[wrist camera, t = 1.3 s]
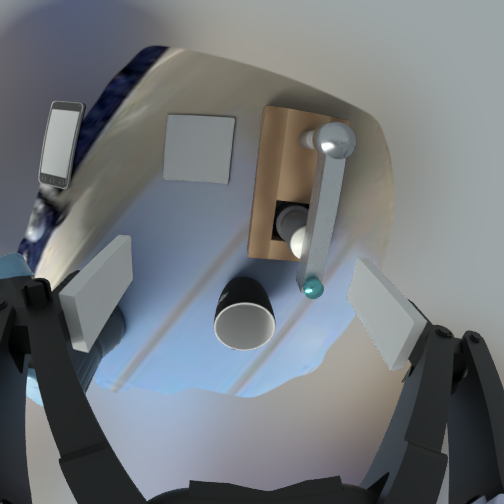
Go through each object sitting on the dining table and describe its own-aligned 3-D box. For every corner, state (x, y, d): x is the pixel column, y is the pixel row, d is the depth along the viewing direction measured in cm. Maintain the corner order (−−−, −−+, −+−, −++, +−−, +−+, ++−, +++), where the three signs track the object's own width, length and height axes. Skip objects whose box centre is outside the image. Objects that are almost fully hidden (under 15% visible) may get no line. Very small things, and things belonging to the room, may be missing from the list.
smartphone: (38, 182, 38) (52, 100, 33) (41, 181, 39) (55, 100, 34) (67, 190, 40) (84, 103, 34) (70, 188, 40) (87, 103, 35)
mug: (224, 264, 47) (221, 296, 37) (275, 276, 48) (284, 309, 39) (209, 321, 51) (205, 358, 42) (256, 330, 52) (260, 368, 43)
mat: (163, 179, 41) (162, 179, 40) (168, 115, 37) (167, 114, 37) (227, 183, 42) (227, 183, 41) (235, 118, 38) (235, 118, 38)
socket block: (247, 247, 46) (250, 290, 33) (263, 108, 38) (275, 93, 25) (318, 253, 47) (345, 295, 34) (340, 122, 39) (382, 117, 26)
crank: (314, 120, 26) (326, 117, 22) (346, 127, 26) (363, 126, 22) (289, 279, 32) (295, 298, 29) (318, 281, 33) (328, 299, 29)
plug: (270, 229, 45) (281, 263, 33) (274, 196, 43) (289, 219, 31) (303, 233, 45) (325, 267, 34) (308, 200, 43) (334, 224, 32)
